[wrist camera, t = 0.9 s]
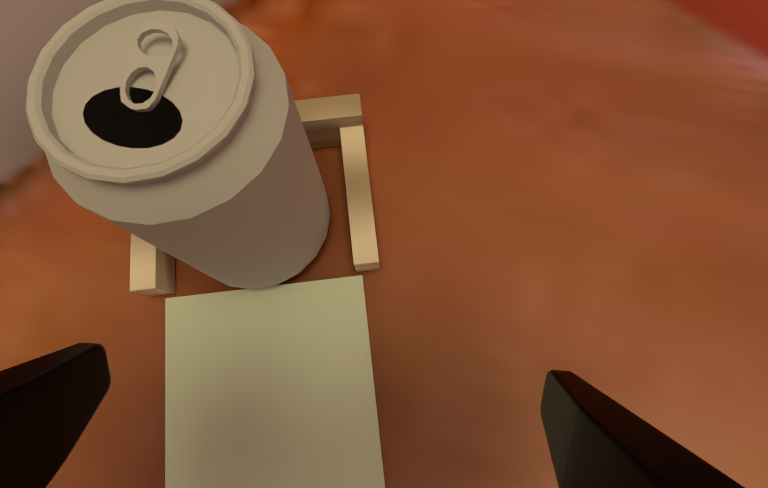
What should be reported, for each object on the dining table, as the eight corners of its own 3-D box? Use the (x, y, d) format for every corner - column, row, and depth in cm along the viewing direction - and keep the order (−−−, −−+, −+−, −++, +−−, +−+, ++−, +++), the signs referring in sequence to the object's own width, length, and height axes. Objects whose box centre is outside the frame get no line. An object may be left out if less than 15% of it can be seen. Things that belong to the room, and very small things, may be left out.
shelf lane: (379, 269, 23) (378, 257, 20) (152, 296, 23) (116, 288, 20) (362, 123, 25) (359, 93, 22) (153, 147, 25) (121, 119, 22)
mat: (385, 488, 20) (385, 491, 20) (169, 515, 20) (165, 518, 20) (362, 276, 23) (362, 275, 22) (169, 299, 22) (165, 298, 22)
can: (168, 269, 23) (-65, 157, 11) (224, 144, 25) (77, -59, 13) (304, 310, 22) (207, 237, 10) (351, 178, 24) (313, -6, 12)
